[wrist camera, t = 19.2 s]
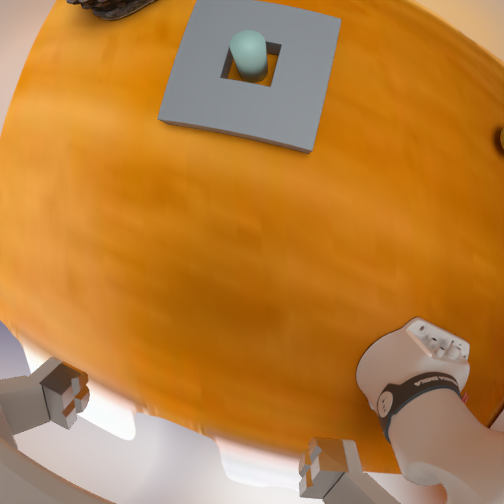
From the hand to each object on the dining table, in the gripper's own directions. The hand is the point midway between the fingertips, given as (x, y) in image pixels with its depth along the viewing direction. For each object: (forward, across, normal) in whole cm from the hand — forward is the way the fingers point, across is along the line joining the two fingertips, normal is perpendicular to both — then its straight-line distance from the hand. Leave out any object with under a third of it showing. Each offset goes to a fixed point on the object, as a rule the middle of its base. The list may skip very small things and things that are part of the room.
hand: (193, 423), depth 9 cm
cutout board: (+34, +6, -23) cm, 42 cm away
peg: (+34, +6, -23) cm, 42 cm away
